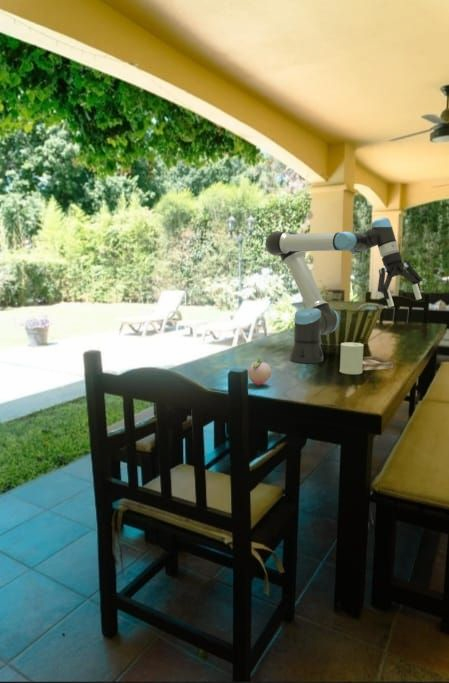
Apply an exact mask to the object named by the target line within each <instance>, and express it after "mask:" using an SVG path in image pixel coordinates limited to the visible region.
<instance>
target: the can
mask: <svg viewBox="0 0 449 683" xmlns="http://www.w3.org/2000/svg"><path fill="white" fill-rule="evenodd" d="M364 348H365V347H364V344H363V343H361V342H351V341H349V342H341V343H340V358H339V359H340V360H339V372H340V373H342V374H346V375H361V374H363V373H364V372H363V371H364V370H362V364H363V357H364Z"/></svg>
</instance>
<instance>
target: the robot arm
mask: <svg viewBox="0 0 449 683" xmlns="http://www.w3.org/2000/svg"><path fill="white" fill-rule="evenodd" d="M370 227H371V228H370V229H368V230H366V231H362V232H354V231H340V232H316V233H313V232H312V233H311V232H310V233H297V232H294V231H279V230H277V231H273V232H271V233H269V234H268V235H267V237H266V239H265V242H264V243H265V249H266V250H267V252H268V253H269V254H270V255H272V256H277V257H280V259H281V262H282V263H283V264H284V265H287V266H288V269H289V270H290V273H291V276H292V277H293V280H294V282H295V284H296V287H297V289H298V292H299V294H300V296H301V298H302V301H303V302H304V305H305V306H306V307H305V308H301V309H298V310H297V311H295V313H294V320H293V321H294V332H293V334H294V336H293V345H292V349H291V352H290V353H289V360H290V361H291V362H294V363H297V364H319V363H322V362H324V352H323V351H322V348H321V336H323V335H328V334H331V333H333V332H334V331H335V330H336V329H337V328H338V327H339V324H340V316H339V314H338V312H337V311H336V310H335V309H333V308H331V306H330V304H329V302H327V301H325V300H324V299H323V296H322V294H321V292H320V290H319V288H318V285H317V283H316V281H315V279H314V277H313V275H312V272H311V270H310V268H309V265H308V264H307V262H306V259H305V255H306V252H317V251H318V252H319V251H320V252H321V251H327V252H328V251H331V252H332V251H337V252H338V251H339V252H340V251H341V252H342V251H344V252H345V251H349V253H351V254H352V255H357V254H360V253H363V252H365V251H367V250H369V249H372V248H374V247H376V246H377V248H378V251H379V255H380V257H382V258H381V260H382V261H381V262H382V265H383V266H384V267H381V268H379V269H378V274H379V278H378V283H377V284H378V285H377V292H378V293H381V294H383V297H384V300H386V302H387V305H388V308H391V307H394V306H395V304H394V300H393V297H392V294H391V291H390V290H389V288H390V284H391V282H392V280H393V278H395V277H397V276H398V277H399V276H401V277H403V278H404V279H406V280H407V281H408V282H410V283H411V284H412V285H411V288H412V291H413V294H414V297H415V300H416V301H418V300H421V299H422V294H421V287H420V283H421V282H422V281H423V278H422V277H421V276H420V274H418V272H417V271H416V270H415V269H414V268H413V266H412V265H411V262H410V261H406V262H404V263H403V258H402V254H401V252H400V248H399V245H398V243H397V240H396V236H395V232H394V228H393V226H392V223H391V221H390V218H388V217H381V218H379V219H376V220H374V221H372V222H371V226H370ZM386 273H387V274H386Z"/></svg>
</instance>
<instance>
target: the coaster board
mask: <svg viewBox="0 0 449 683" xmlns="http://www.w3.org/2000/svg"><path fill="white" fill-rule="evenodd" d="M388 369H389V370H390V369H391V370H393V369H394V362H391V361H390V360H389V361H388V360H387V359H384V358H381V357H377V356H375V355H374V356H363V364H362V371H372V370H388Z"/></svg>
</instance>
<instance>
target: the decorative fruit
mask: <svg viewBox="0 0 449 683" xmlns="http://www.w3.org/2000/svg"><path fill="white" fill-rule="evenodd" d="M247 374H248V378H249V380H250V381H251V382H252V384H254V385H256V386H257V387H260V386H261V385H263V384H265V383H267V382H268V381H269V380H270V379H271V376H272V369H271V366H270V365H269V364H268V363H266V362H264V361H263V360H260V358H259V359H258V360H257V361H255V362H253V363H252V364H251V365H250V366H249V368H248V371H247Z"/></svg>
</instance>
